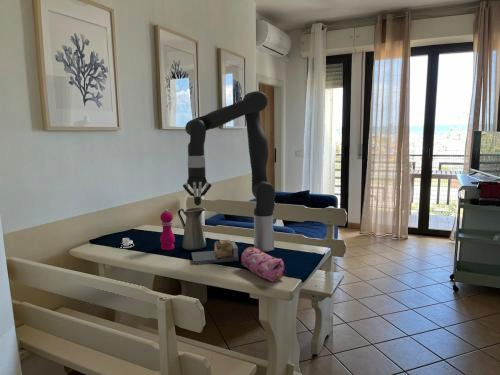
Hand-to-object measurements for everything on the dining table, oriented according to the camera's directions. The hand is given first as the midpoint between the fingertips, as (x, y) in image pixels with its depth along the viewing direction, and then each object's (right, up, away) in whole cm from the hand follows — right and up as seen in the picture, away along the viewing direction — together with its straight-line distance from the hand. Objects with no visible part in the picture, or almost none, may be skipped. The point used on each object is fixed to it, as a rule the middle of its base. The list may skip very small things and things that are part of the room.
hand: (197, 205), depth 163 cm
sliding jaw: (+9, -23, +5) cm, 25 cm away
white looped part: (-37, -22, +26) cm, 51 cm away
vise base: (+7, -24, +5) cm, 26 cm away
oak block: (+12, -23, +6) cm, 26 cm away
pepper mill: (-18, -23, +20) cm, 35 cm away
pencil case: (+28, -27, -13) cm, 41 cm away
